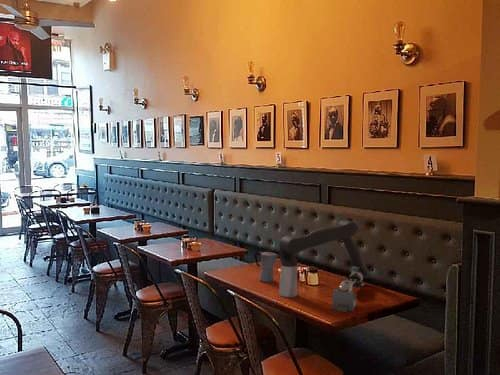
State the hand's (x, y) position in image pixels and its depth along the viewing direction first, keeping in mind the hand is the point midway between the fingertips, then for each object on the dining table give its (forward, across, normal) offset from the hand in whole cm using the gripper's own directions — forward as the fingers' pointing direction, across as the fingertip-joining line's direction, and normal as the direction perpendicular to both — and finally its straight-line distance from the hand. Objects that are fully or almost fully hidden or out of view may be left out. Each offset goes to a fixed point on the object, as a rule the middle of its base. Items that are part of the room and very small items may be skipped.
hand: (350, 286), depth 261 cm
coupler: (+18, 0, +6) cm, 19 cm away
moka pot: (-16, -55, +7) cm, 58 cm away
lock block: (+14, 0, +6) cm, 16 cm away
